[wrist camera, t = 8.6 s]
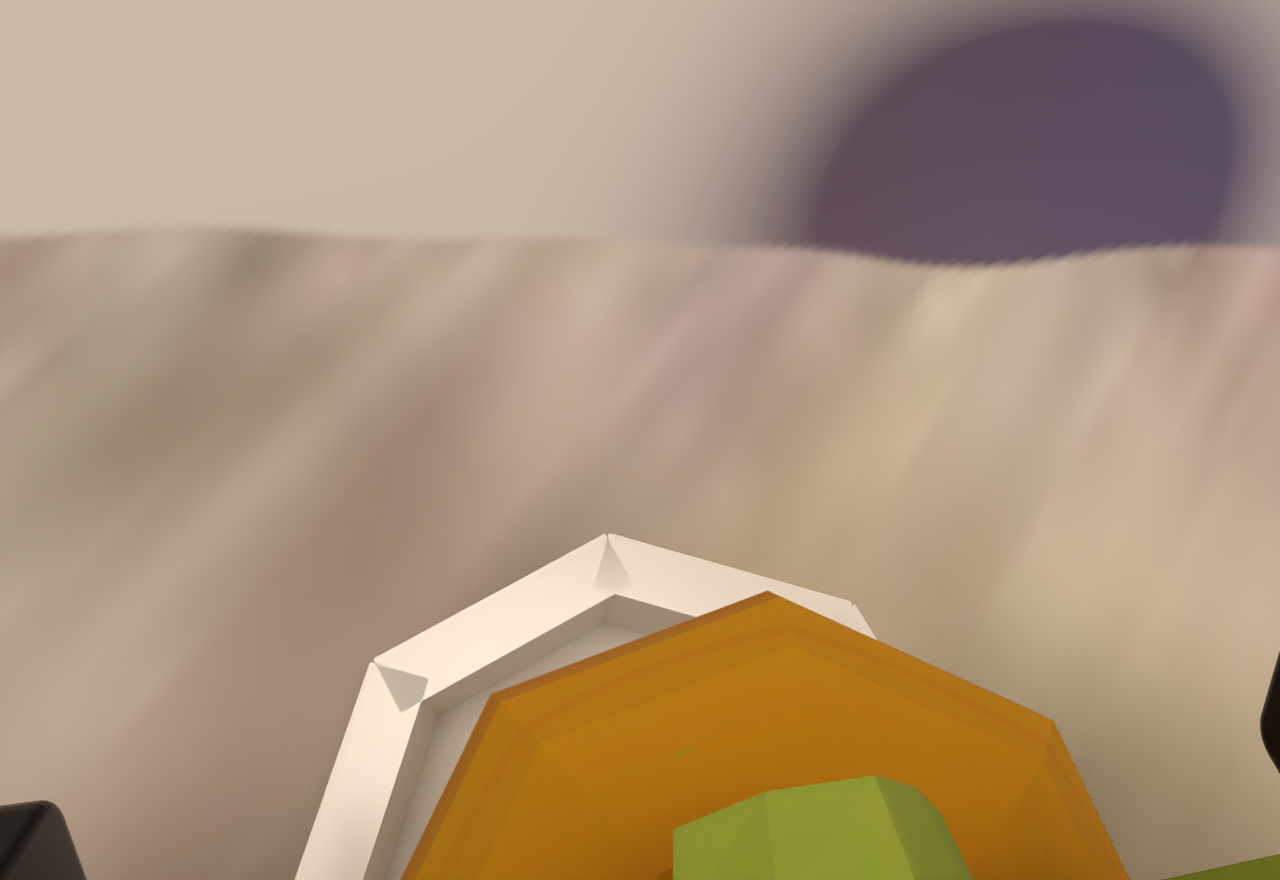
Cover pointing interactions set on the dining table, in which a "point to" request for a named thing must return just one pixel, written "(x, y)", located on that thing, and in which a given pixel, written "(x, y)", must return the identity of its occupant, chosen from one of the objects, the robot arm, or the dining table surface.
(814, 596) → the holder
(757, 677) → the carrot
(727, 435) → the dining table surface
